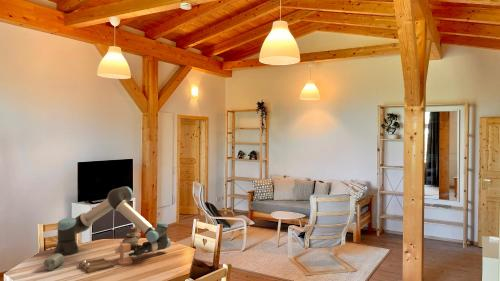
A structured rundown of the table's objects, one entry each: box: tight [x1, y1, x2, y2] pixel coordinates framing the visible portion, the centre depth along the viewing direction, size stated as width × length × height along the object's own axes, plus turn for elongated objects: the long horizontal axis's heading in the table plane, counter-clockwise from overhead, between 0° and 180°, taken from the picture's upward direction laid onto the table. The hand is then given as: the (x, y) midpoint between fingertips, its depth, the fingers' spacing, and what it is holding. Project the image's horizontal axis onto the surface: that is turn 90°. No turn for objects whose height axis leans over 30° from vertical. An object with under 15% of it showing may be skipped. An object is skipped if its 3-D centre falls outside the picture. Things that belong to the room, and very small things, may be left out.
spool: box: [43, 253, 65, 271], centre depth 228 cm, size 14×10×10 cm
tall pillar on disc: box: [117, 242, 133, 266], centre depth 240 cm, size 9×9×12 cm
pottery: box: [122, 226, 142, 245], centre depth 277 cm, size 11×25×12 cm, turn 8°
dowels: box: [81, 260, 90, 269], centre depth 227 cm, size 8×2×3 cm, turn 45°
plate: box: [78, 258, 115, 274], centre depth 231 cm, size 16×16×2 cm
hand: (119, 253), depth 237 cm, fingers open, 11 cm apart
